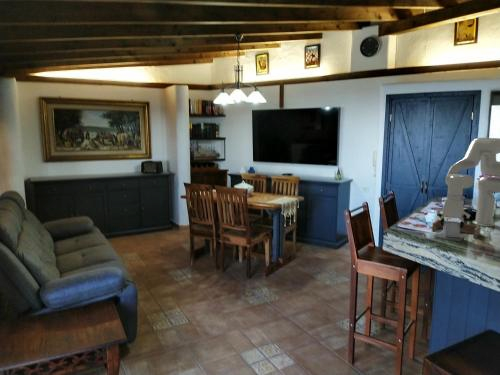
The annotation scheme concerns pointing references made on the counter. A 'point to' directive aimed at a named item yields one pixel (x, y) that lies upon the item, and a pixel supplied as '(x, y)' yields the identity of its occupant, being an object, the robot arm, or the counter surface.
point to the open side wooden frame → (466, 228)
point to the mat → (450, 237)
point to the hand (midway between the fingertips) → (451, 226)
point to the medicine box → (451, 229)
